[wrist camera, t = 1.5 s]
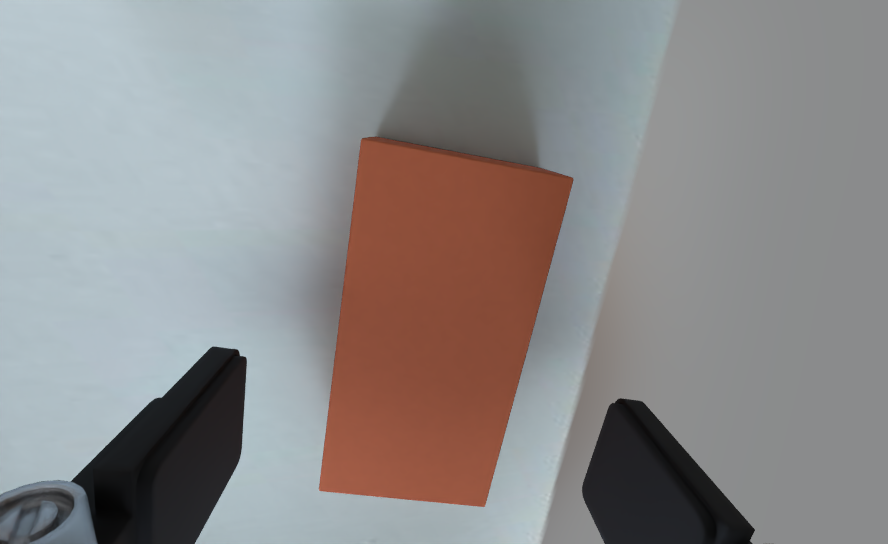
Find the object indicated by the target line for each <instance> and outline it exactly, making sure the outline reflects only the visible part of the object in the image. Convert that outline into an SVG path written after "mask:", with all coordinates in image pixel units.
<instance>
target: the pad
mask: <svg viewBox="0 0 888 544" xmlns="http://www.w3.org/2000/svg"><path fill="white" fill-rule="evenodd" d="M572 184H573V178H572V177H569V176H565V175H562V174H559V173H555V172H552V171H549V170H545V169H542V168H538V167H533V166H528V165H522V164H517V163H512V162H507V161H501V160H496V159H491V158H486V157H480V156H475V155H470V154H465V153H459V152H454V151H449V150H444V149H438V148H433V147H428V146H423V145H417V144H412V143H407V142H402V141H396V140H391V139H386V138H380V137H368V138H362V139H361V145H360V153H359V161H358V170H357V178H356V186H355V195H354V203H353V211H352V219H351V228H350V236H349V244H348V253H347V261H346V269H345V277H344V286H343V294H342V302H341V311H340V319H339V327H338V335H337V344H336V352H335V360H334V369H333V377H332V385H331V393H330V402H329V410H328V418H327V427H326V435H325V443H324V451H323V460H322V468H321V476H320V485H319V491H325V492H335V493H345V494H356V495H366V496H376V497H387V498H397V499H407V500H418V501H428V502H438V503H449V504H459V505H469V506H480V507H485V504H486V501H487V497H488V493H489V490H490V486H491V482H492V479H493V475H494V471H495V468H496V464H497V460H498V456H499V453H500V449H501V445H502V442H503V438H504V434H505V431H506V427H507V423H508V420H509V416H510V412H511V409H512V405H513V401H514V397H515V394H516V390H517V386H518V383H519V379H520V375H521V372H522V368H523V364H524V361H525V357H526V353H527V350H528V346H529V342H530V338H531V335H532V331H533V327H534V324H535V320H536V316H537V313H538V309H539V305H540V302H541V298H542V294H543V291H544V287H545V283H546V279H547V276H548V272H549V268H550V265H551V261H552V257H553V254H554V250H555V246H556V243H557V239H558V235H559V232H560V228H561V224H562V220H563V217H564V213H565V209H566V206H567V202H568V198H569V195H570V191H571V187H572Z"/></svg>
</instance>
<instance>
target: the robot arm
mask: <svg viewBox="0 0 888 544" xmlns="http://www.w3.org/2000/svg"><path fill="white" fill-rule="evenodd" d="M246 366H247V360H246V357H243V356H240V354H239V351H238V350H236V349H228V348H220V347H212V348H210V349H209V350H208V351H207V352H206V353H205V354H204V355H203V356H202V357H201V358H200V359H199V360H198V361H197V362H196V363H195V364H194V365H193V367H192V368H191V369H190V370H189V371H188V372H187V373H186V374H185V375H184V376H183V377H182V378H181V379H180V380H179V381H178V382H177V383H176V384H175V385H174V386H173V387H172V388H171V389H170V390H169V391H168V392H167V393H166V394H165V395H164V396H163V397H162V398H156V399H154V400H153V401H151V402H150V403H149V404H148V405H147V406H146V407H145V408H144V409H143V410H142V411H141V412H140V413H139V414H138V415H137V416H136V417H135V418H134V419H133V420H132V421H131V422H130V423H129V424H128V425H127V426H126V427H125V428H124V429H123V430H122V431H121V432H120V433H119V434H118V435H117V436H116V437H115V438H114V439H113V440H112V441H111V442H110V443H109V444H108V445H107V446H106V447H105V448H104V449H103V450H102V451H101V452H100V453H99V454H98V455H97V456H96V457H95V458H94V459H93V460H92V461H91V462H90V463H89V464H88V465H87V466H86V467H85V468H84V469H83V470H82V471H81V472H80V473H79V474H78V475H77V476H76V477H75V478H74V479H73V480H72V481H71V482H68V481H61V480H54V481H41V482H37V483H33V484H28V485H24V486H21V487H19V488H16V489H13V490H11V491H8V492H5V493H3V494H1V495H0V544H195V542H196V540H197V538H198V537H199V535H200V533H201V531H202V529H203V527H204V526H205V524H206V522H207V520H208V518H209V516H210V515H211V513H212V511H213V509H214V507H215V505H216V503H217V502H218V500H219V498H220V496H221V494H222V492H223V491H224V489H225V487H226V485H227V483H228V481H229V479H230V478H231V476H232V474H233V472H234V470H235V468H236V467H237V464H238V462H239V459H240V455H241V449H242V433H243V417H244V400H245V383H246ZM582 493H583V498H584V501H585V503H586V505H587V507H588V509H589V511H590V513H591V515H592V518H593V520H594V522H595V524H596V526H597V528H598V530H599V532H600V535H601V537H602V539H603V541H604V543H605V544H752V543H751V542H750V539H751V537H752V535H753V533H754V531H755V529H754V528H753V527H752V526H751V525H750V524H749V523H748V521H747V520H746V519H745V518H744V517H743V516H742V515H741V513H740V512H739V511H738V510H737V509H736V508H735V507H734V505H733V504H732V503H731V502H730V501H729V500H728V499H727V497H726V496H725V495H724V494H723V493H722V492H721V491H720V489H719V488H718V487H717V486H716V485H715V484H714V483H713V481H711V479H710V478H709V477H708V476H707V475H706V473H705V472H704V471H703V470H702V469H701V468H700V467H699V466H698V464H697V463H696V462H695V461H694V460H693V459H692V458H691V456H690V455H689V454H688V453H687V452H686V451H685V449H684V448H683V447H682V446H681V445H680V444H679V443H678V441H677V440H676V439H675V438H674V437H673V436H672V435H671V433H670V432H669V431H668V430H667V429H666V428H665V427H664V425H663V424H662V423H661V422H660V421H659V420H658V419H657V417H656V416H655V415H654V414H653V413H652V412H651V411H650V409H649V408H648V407H647V406H646V405H645V404H644V403H643V402H641V401H636V400H629V399H618V400H617V401H616V402H615V403H612V404H611V405H610V406H609V408H608V411H607V414H606V417H605V420H604V423H603V426H602V429H601V432H600V435H599V438H598V441H597V444H596V447H595V449H594V452H593V455H592V458H591V461H590V465H589V467H588V470H587V473H586V477H585V479H584V482H583V487H582Z"/></svg>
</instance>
